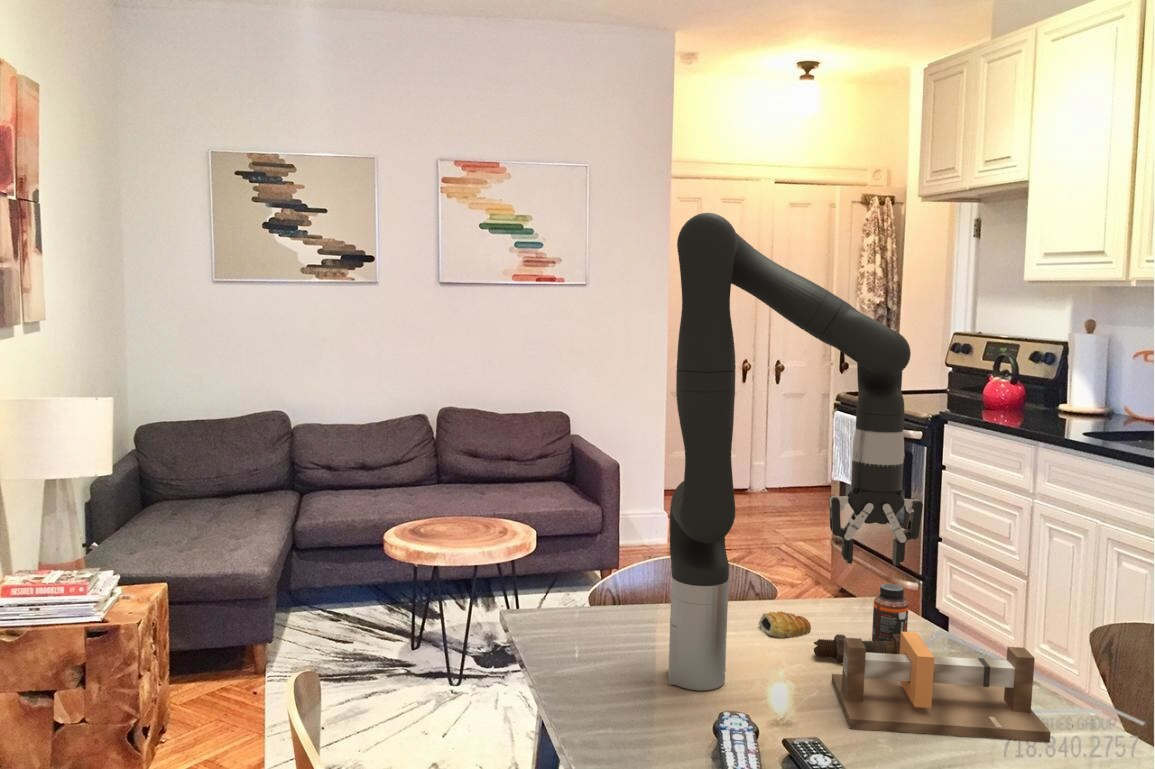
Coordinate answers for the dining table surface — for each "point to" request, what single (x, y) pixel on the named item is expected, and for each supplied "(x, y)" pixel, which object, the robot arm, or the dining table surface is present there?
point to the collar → (918, 669)
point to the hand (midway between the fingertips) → (872, 563)
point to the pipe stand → (940, 695)
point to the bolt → (888, 647)
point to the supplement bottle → (889, 613)
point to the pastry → (784, 624)
